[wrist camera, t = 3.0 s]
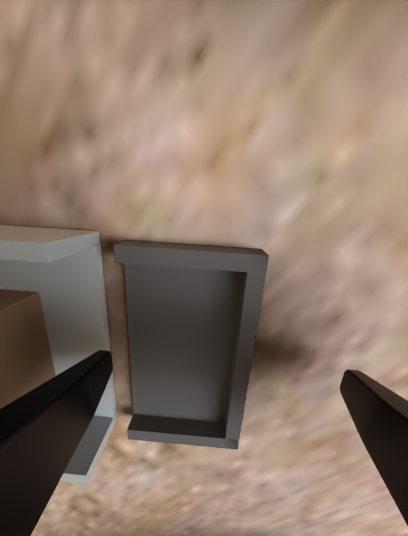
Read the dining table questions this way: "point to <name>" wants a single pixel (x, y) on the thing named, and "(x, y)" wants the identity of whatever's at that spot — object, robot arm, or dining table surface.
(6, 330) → the block
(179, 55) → the dining table surface
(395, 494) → the robot arm
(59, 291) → the grey bracket
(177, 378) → the dark gray shallow tray
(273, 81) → the dining table surface
